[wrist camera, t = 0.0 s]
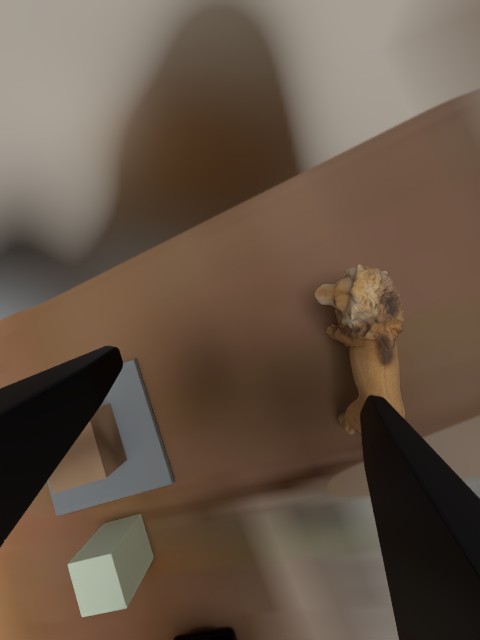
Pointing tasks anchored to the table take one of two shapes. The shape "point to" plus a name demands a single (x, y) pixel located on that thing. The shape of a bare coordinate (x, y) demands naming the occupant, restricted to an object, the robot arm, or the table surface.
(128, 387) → the slate pad
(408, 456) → the robot arm
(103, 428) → the walnut block
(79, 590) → the sage cube
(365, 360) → the lion figurine
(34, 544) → the table surface
